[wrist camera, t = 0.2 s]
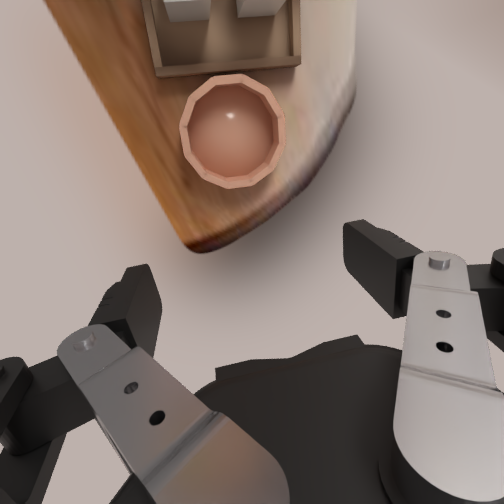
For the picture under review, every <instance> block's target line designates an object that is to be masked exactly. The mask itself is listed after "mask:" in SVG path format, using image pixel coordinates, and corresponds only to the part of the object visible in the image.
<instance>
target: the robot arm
mask: <svg viewBox="0 0 504 504" xmlns="http://www.w3.org/2000/svg"><path fill="white" fill-rule="evenodd" d="M343 257H344V263H345V266H346V269H347V270H348V272H349V273H350V274H351V275H352V276H353V277H354V278H355V279H356V280H357V281H358V282H359V284H361V286H362V287H363V288H364V289H365V290H366V291H367V292H368V293H369V294H370V295H371V296H372V297H373V298H374V299H375V301H376V302H377V303H378V304H379V305H380V306H381V307H382V308H383V309H384V310H385V311H386V312H387V313H388V314H389V315H390V316H391V317H392V318H393V319H395V318H399V317H404V316H407V318H406V326H405V335H404V343H403V351H402V350H399V349H395V348H391V347H387V346H380V345H364V343H363V342H362V341H361V339H360V338H359V336H358V335H353V336H349V337H344V338H340V339H336V340H332V341H328V342H323V343H321V344H319V345H317V346H315V347H313V348H311V349H309V350H307V351H305V352H303V353H300V354H298V355H296V356H294V357H292V358H287V359H286V358H284V359H255V360H248V361H244V362H239V363H235V364H231V365H226V366H222V367H218V368H215V372H216V380H215V381H213V382H211V383H209V384H207V385H206V386H204V387H203V388H201V389H200V390H198V391H197V392H196V393H195V394H192V393H191V392H190V391H189V390H188V389H186V387H184V386H183V385H182V384H181V383H180V382H179V381H178V380H177V379H175V378H174V377H173V376H172V375H171V374H170V373H169V372H168V371H166V370H165V369H164V368H163V367H162V366H161V365H160V364H159V363H157V362H156V361H155V360H154V359H153V356H154V351H155V346H156V340H157V335H158V330H159V325H160V320H161V315H162V303H161V298H160V295H159V292H158V290H157V287H156V284H155V281H154V278H153V275H152V272H151V270H150V267H149V265H148V264H143V265H138V266H133V267H129V268H127V269H126V271H125V273H124V275H123V277H122V279H121V281H120V282H116V283H115V284H114V285H112V286H111V287H110V288H109V289H108V290H107V291H106V293H105V294H104V296H103V298H102V301H101V302H100V304H99V306H98V307H99V308H97V310H96V311H95V313H94V315H93V317H92V319H91V321H90V323H89V325H88V326H87V327H84V328H82V329H79V330H78V331H76V332H74V333H72V334H71V335H69V336H68V337H67V338H66V339H65V340H63V341H62V343H61V344H60V345H59V347H58V349H57V356H55V357H53V358H51V359H48V360H46V361H43V362H41V363H39V364H36V365H34V366H31V367H29V368H28V366H27V365H26V363H25V362H24V360H23V359H22V358H20V357H9V358H5V359H2V360H0V443H1V444H2V445H3V446H4V448H3V450H2V452H1V454H0V504H42V501H43V498H44V495H45V493H46V490H47V487H48V484H49V482H50V479H51V476H52V473H53V470H54V467H55V465H56V462H57V459H58V456H59V453H60V450H61V448H62V445H63V442H64V440H65V437H66V434H67V432H69V431H71V430H73V429H75V428H77V427H79V426H81V425H83V424H85V423H87V422H88V421H90V420H92V419H94V418H95V420H96V421H97V423H98V425H99V426H100V428H101V429H102V431H103V433H104V434H105V436H106V437H107V439H108V440H109V442H110V444H111V445H112V447H113V448H114V450H115V451H116V453H117V454H118V456H119V458H120V459H121V461H122V463H123V464H124V466H125V468H126V469H127V471H128V473H129V474H130V476H129V478H128V479H127V480H126V482H125V483H124V484H123V486H122V487H121V489H120V490H119V491H118V492H117V494H116V495H115V496H114V498H113V499H112V500H111V502H110V503H109V504H504V393H503V392H501V391H500V390H499V389H498V388H497V387H496V383H495V379H494V373H493V368H492V363H491V358H490V352H489V347H488V342H487V338H488V339H489V340H490V341H492V342H493V343H494V344H495V345H496V346H497V347H498V348H499V349H501V350H502V351H503V352H504V248H502V249H499V250H496V251H494V253H493V256H492V261H491V264H479V265H466V262H465V260H464V259H462V258H461V257H459V256H457V255H455V254H452V253H448V252H441V251H429V252H423V251H421V250H420V249H418V248H416V247H415V246H413V245H412V244H410V243H408V242H405V240H403V239H402V238H399V237H398V236H397V235H395V234H394V233H392V232H390V231H387V230H384V229H380V228H376V227H375V226H373V225H372V224H370V223H368V222H367V221H366V220H364V219H362V220H357V221H352V222H347V223H345V224H344V226H343Z"/></svg>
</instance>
